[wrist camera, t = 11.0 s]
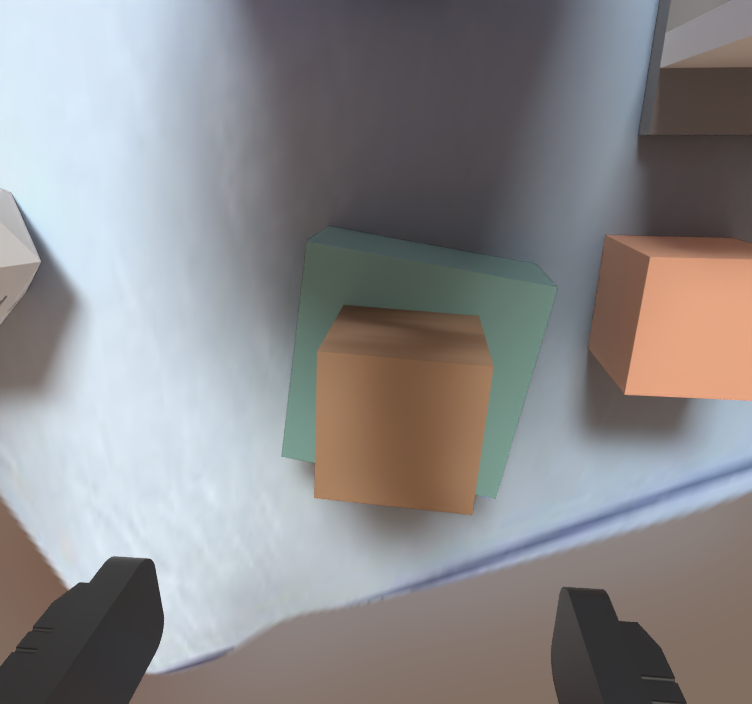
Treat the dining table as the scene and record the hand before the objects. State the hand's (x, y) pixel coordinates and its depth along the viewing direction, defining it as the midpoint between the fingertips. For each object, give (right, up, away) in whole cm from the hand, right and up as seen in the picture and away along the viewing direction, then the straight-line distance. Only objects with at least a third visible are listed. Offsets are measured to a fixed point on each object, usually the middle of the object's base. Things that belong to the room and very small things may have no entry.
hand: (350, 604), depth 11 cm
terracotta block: (+14, +8, +15) cm, 22 cm away
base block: (+2, +6, +17) cm, 18 cm away
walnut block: (+2, +4, +12) cm, 13 cm away
